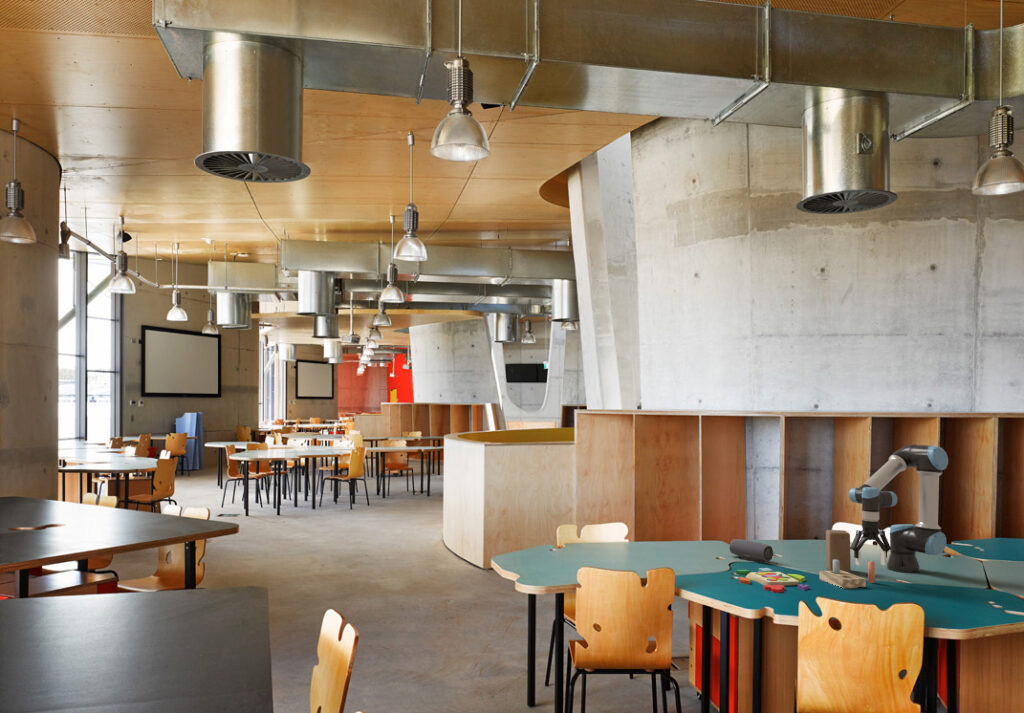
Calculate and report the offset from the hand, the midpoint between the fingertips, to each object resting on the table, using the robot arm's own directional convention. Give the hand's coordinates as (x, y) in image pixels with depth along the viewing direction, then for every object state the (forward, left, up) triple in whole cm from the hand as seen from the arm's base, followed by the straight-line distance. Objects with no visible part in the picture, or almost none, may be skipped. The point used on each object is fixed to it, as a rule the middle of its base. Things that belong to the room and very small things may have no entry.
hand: (870, 565), depth 362 cm
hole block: (+15, -1, -8) cm, 17 cm away
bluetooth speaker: (+31, -58, -9) cm, 66 cm away
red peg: (0, 0, -8) cm, 8 cm away
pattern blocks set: (+46, -10, -9) cm, 48 cm away
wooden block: (0, -26, -9) cm, 28 cm away
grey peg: (+15, -6, -8) cm, 18 cm away
